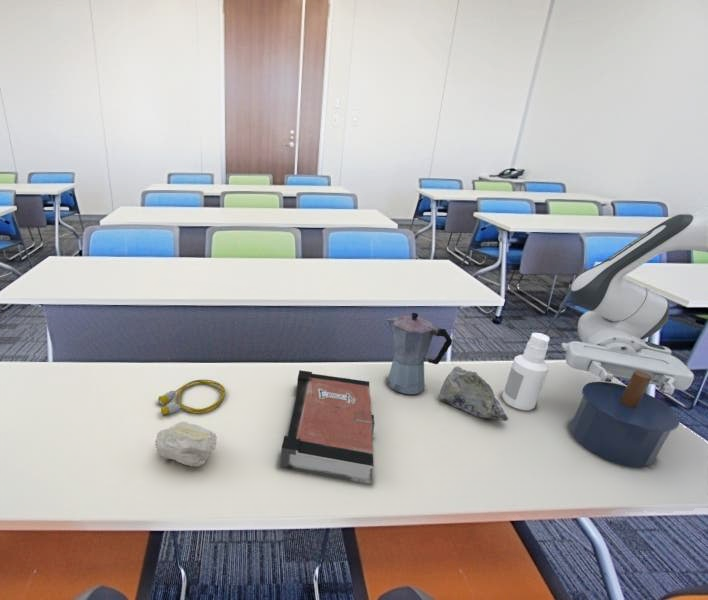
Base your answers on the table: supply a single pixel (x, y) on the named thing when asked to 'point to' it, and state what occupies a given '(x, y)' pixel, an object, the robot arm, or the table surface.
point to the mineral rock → (471, 394)
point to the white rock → (186, 443)
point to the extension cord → (177, 406)
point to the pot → (615, 438)
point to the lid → (631, 404)
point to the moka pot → (412, 352)
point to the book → (330, 428)
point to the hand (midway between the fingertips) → (637, 384)
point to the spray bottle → (527, 374)
